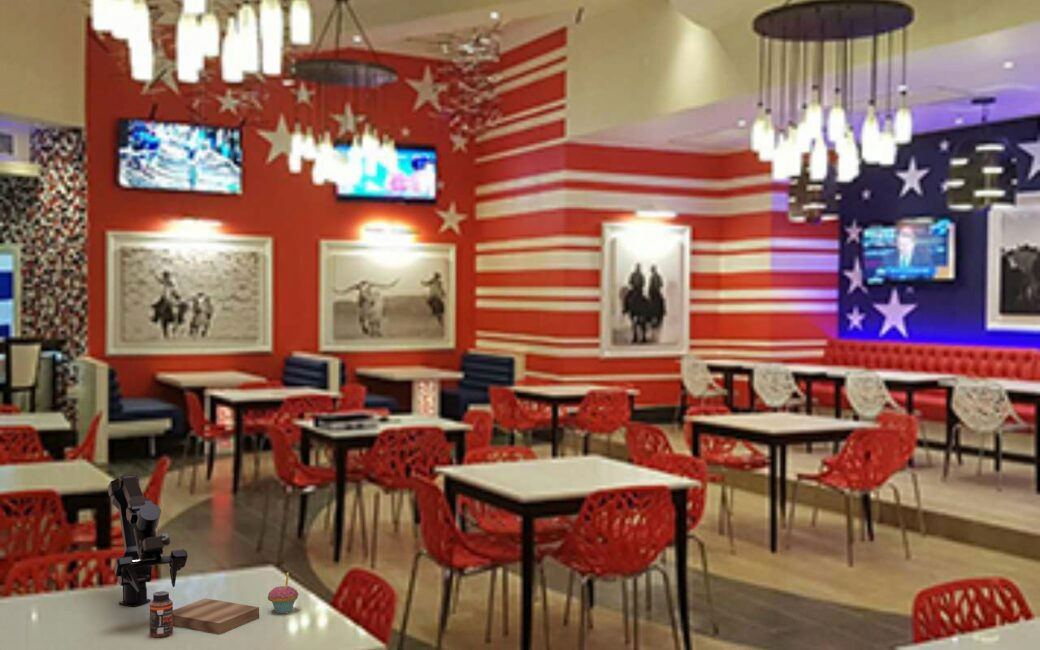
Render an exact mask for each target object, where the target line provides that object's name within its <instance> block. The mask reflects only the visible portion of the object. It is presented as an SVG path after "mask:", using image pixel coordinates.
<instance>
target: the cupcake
mask: <svg viewBox="0 0 1040 650" xmlns="http://www.w3.org/2000/svg"><path fill="white" fill-rule="evenodd" d="M289 577H290V572H289V570H288V571H287V573H286V577H285V584H284V585H280V586H276V587H273V589H271V590H270V591H269V593H268V595H267V601H269V602H271V603H272V606H273V608H274V612H275V613H277V614H288V613H291V612H292V611H293V607H294V604H295V602H296V600H297V599H298V597H299V592H298V590H296V588H294V587H293V586H291V585H289V584H288V583H289ZM287 612H288V613H287Z"/></svg>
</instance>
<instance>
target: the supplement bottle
mask: <svg viewBox="0 0 1040 650" xmlns="http://www.w3.org/2000/svg"><path fill="white" fill-rule="evenodd" d="M173 603H174V602H173V600H172V599H170V593H169V591H166V590H165V591H163V590H162V591H161V590H159V591H155V592H154V593H153V594H152V601H150V603H149V635H150V636H151V637H154V638H165V637H168V636H171V635H172V634H173V633H174V631H173V629H174V626H173V610H174V609H173V607H174V605H173Z"/></svg>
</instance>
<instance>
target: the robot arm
mask: <svg viewBox="0 0 1040 650" xmlns="http://www.w3.org/2000/svg"><path fill="white" fill-rule="evenodd" d="M107 488H108V489H107V491H108V492H107V494H108V496H109V497H110V499H111V504H112V505H113V506H114V507H115V508H116V509H117V510H118V514H119V522H120V529H121V535H122V541H123V548H124V554H123V556H121V557H117V559H116V560H115V564H114V565H115V566H114V574H115V577H117V583H118V584H119V586H120V587H122V601H119V602H118V604H119V605H123V606H128V607H137V606H140V605H143V604H146V603H149V602H151V599H150V598H148V587H147V583H151V581H152V572H153V567H154V566H161V565H166V564H167V565H168V564H169V574H170V583H171V586H172V588H175V586H176V580H177V579H176V578H177V572H178V571H180V570H182V569H183V568H184V567H186V564H187V560H188V557H189V556H188V552H187V550H186V549H184V548H181V549H174V550H171V552H170V555H166V556H162V555H163V553H164V550H163V549H164V548H165V547H168V546H169V545H171V544H170V543H171V541H170V535H169V533H162V534H160V535H157V529H158V525H159V521H160V518H161V514H162V509H161V508H160V506H158V505H157V504H154V503H153V501H152V500H151V499H150V498H148V497H145V496H144V493H143V491H142V488H141V484H140V478H139V477H138V474H135V473H134V474H133V473H132V474H124V475H120V476H119V477H118V478H116V479H113V480H111V481H110V482H109V484H108V485H107Z"/></svg>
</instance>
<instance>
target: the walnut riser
mask: <svg viewBox="0 0 1040 650" xmlns="http://www.w3.org/2000/svg"><path fill="white" fill-rule="evenodd" d="M257 619H260V606H253V605H248V604H242V603H237V602H229V601H224V600H219V599H218V600H217V599H211V598H207V597H206V598H205V597H204V598H203V599H201V600H198V601H197V600H196V601H193V602H192V603H189V604H186V605H184V606H181V607H178V608H175V609H173V627H177V628H184V629H189V630H194V631H195V630H196V631H199V632H207V633H209V634H210V633H211V634H217V635H222V634H224V633H226V632H228V631H231V630H233V629H236V628H239V627H240V626H242V625H245V624H247V623H250V622H253V621H256V620H257Z"/></svg>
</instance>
